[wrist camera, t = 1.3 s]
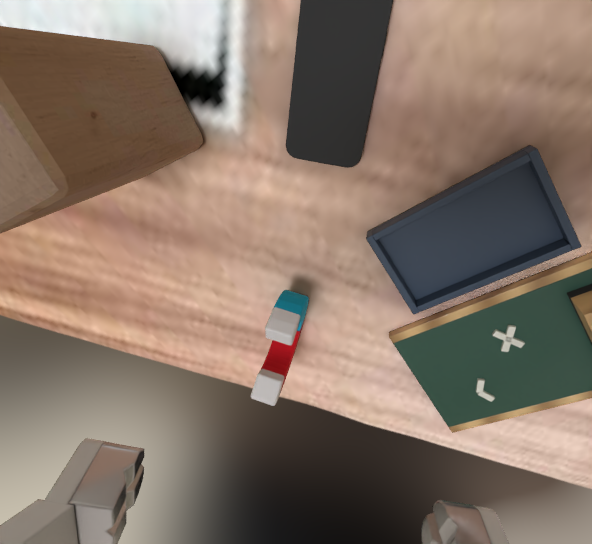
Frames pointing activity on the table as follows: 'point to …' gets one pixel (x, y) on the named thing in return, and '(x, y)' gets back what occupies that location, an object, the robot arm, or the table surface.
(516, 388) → the chalkboard
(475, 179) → the eraser tray
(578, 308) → the eraser
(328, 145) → the phone
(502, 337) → the chalk
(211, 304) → the table surface
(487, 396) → the chalk chevron
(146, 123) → the wooden block
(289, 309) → the magnet
